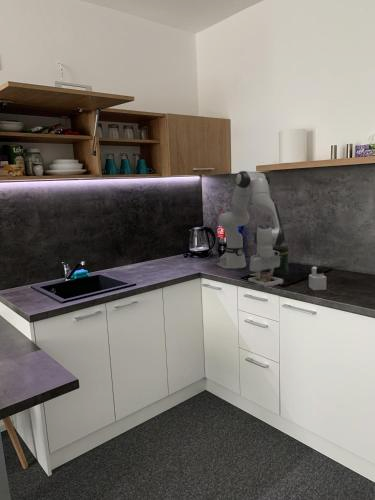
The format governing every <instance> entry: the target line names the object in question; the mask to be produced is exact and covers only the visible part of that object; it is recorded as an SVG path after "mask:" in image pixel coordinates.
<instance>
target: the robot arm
mask: <svg viewBox="0 0 375 500" xmlns="http://www.w3.org/2000/svg"><path fill="white" fill-rule="evenodd" d="M270 183H271V178H270V176H269V175H268V174H266V173H265V172H260V171H248V170H247V171H246V170H241V171H239V172H238V173H237V174H236V176H235V184H236V185H235V188H234V190H233V194H232V198H231V204H232V206H233V210H232V211H226V212H223V213H220V214H219V216H218V218H217V221H218V222H217V223H218V225H219V226H220V227H221V228H222V229H223V230H224V233H225V237H226V246H225V247H224V249H225V252H224V253H223V254H222V255H221V256H220V258H219V262H217V263H216V265H217V266H219V267H220V268H223V269H234V270H235V269H243V268H245V267H246V266H247V262H246V257H245V252H244V249H245V248H244V244H243V243H244V240H243V239H244V238H243V237H244V236H243V234H242V233H241V232H239V229H238V227H243V226H245V225H247V224H249V223H250V220H251V218H250V217H251V216H250V213H249V212H248V204H249V200H250V199H251V204H252V206H253V207H254V208H255V209H257V210H259V211H260V212H264V213H268V214H269V215H270V216H271V217H272V221H273V225H274V228H272V226H271V225H268V224H260V225H258V226H257V228H256V230H255V231H254V232H253V233H252V234H253V243H254V244H255V245H256V254H255V255H254V254H253V255H252V256H251V257H250V260H249V270H250V272H253V273H257V275H258V278H261V276H262V275H260V273H259V272H260V270H262V271H264V270H269V273H270V276H272V277H273V271H274V268H276V267H279V266H280V257H279V256H278V255H279V254H280V253H279V252H278V251H274V250H273V246H283V244H285V242H286V234H285V231H284V228H283V227H284V226H283V224H282V219H281V217H280V213H279V209H278V206H277V204H276V203H275V202H274V201H273V200H272V198H271V194H270V193H271V192H270ZM250 197H251V198H250Z"/></svg>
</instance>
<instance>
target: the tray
mask: <svg viewBox="0 0 375 500" xmlns="http://www.w3.org/2000/svg"><path fill="white" fill-rule="evenodd" d="M247 280H248V282H251V283H254V284H257V285H260V287H262V288H270V287H274V286H278V284H280V285H283V284H284V278H279V277H276V276H273V275H272V276H270V282H260V281H259V278H258V277H256V276H253V277H249V278H248V279H247ZM271 280H273V281H271Z"/></svg>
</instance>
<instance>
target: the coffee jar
mask: <svg viewBox="0 0 375 500" xmlns="http://www.w3.org/2000/svg"><path fill="white" fill-rule="evenodd" d="M272 249H273V250H274V251H278V252H279V253H280V254H279V255H278V256H279V257H280V266H279V267H276V268H274V271H273V273H272V275H278V276H285V275H289V274H290V270H289V260H288V258H289V257H288V256H289V250H290V249H289V247H288V246H287V245H280V246H278V245H273V246H272Z"/></svg>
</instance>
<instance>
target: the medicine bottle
mask: <svg viewBox="0 0 375 500" xmlns="http://www.w3.org/2000/svg"><path fill="white" fill-rule="evenodd" d="M308 288H309V289H311V290H313V291H324V290H327V276H326V275H324V267H323V266H319V265H316V266H315V265H314V266H312V267H311V274H308Z"/></svg>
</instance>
